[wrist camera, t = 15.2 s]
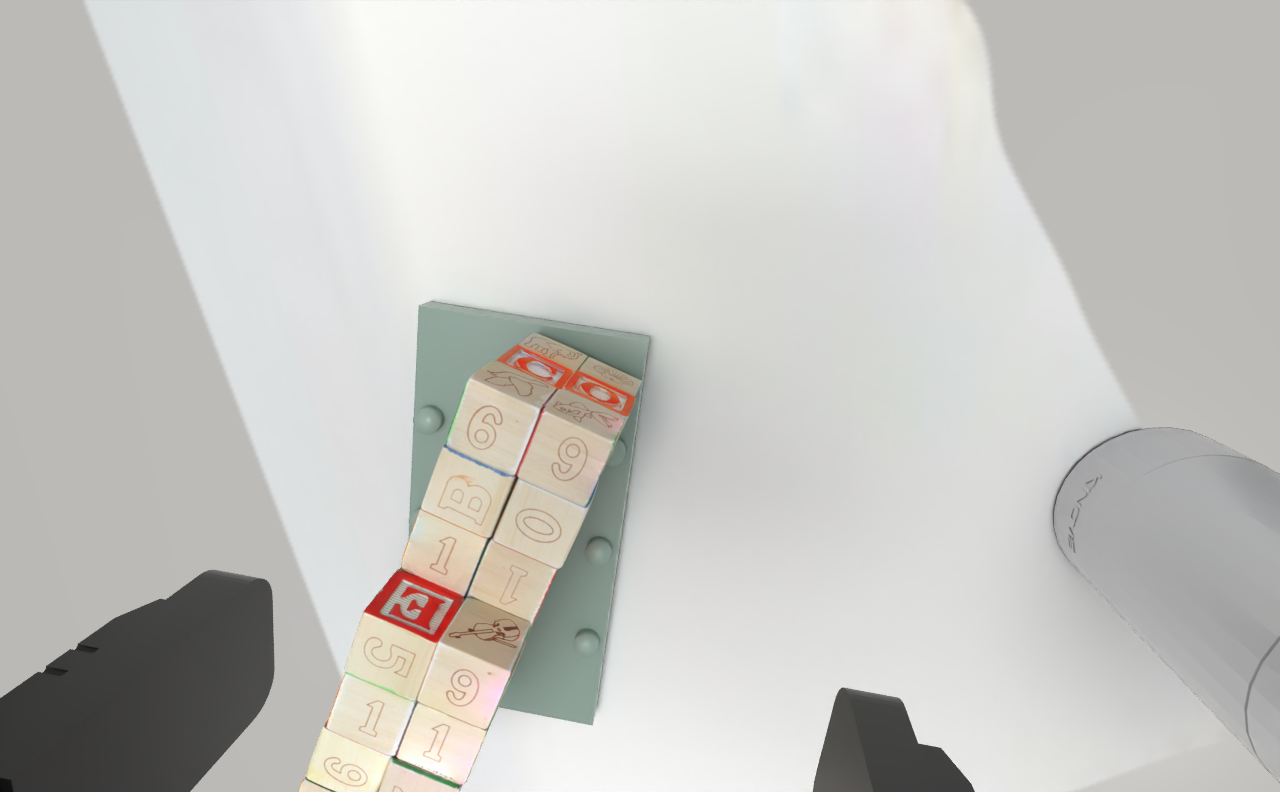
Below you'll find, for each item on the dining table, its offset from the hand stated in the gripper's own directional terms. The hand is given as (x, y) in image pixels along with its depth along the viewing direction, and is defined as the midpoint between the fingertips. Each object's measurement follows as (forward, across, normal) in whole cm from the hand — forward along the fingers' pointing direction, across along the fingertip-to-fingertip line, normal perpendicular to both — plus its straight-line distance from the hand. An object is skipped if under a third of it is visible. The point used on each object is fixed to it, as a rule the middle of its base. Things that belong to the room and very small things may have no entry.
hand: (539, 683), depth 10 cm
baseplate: (+28, +7, +13) cm, 32 cm away
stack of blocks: (+26, +7, +12) cm, 29 cm away
